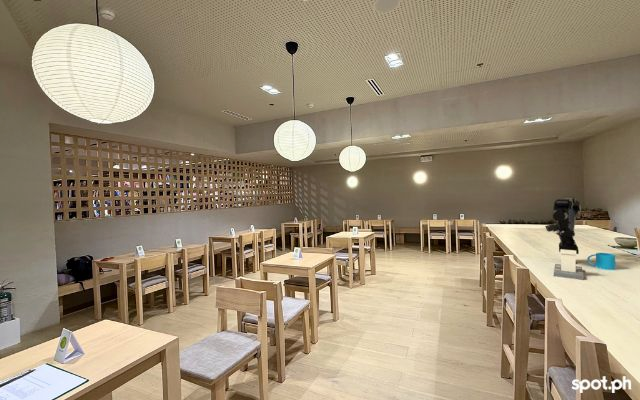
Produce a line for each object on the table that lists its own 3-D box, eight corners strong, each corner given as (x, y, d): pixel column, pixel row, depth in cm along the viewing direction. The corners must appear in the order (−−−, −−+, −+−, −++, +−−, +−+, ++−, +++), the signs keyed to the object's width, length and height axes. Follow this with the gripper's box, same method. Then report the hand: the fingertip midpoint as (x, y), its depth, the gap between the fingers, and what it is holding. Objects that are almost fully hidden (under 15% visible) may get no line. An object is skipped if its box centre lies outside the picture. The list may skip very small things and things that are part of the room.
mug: (615, 267, 171) (615, 253, 171) (615, 270, 165) (615, 256, 165) (587, 264, 180) (587, 251, 179) (586, 267, 174) (586, 253, 174)
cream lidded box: (560, 269, 164) (560, 249, 164) (576, 270, 160) (576, 250, 160) (560, 270, 161) (560, 250, 161) (576, 272, 157) (576, 251, 157)
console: (555, 267, 176) (555, 263, 176) (582, 270, 168) (582, 266, 168) (553, 275, 159) (553, 272, 159) (583, 279, 151) (583, 275, 151)
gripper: (542, 217, 187) (542, 242, 188) (550, 221, 170) (550, 247, 171) (564, 218, 182) (564, 242, 183) (575, 221, 166) (575, 248, 166)
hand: (563, 245), depth 176 cm, fingers closed
